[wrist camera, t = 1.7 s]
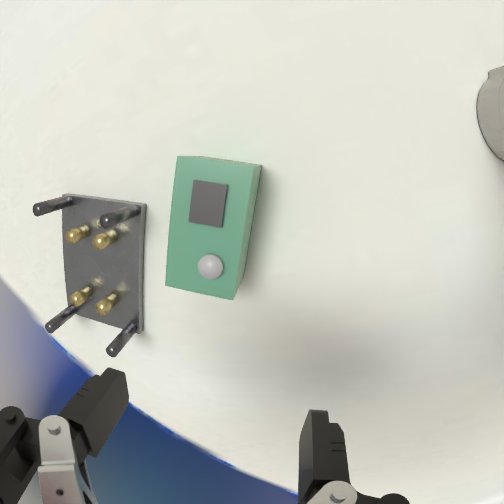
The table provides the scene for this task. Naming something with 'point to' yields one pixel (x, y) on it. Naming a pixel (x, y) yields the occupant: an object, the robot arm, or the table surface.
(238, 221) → the module block
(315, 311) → the table surface
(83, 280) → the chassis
